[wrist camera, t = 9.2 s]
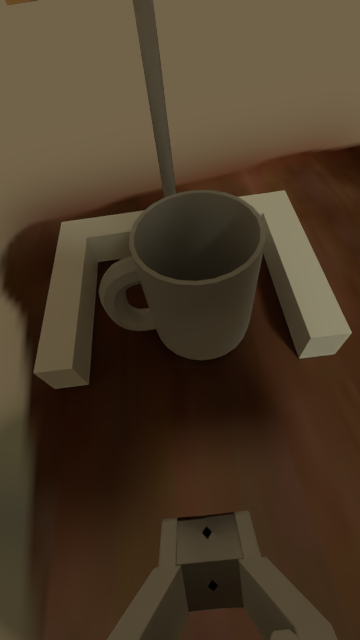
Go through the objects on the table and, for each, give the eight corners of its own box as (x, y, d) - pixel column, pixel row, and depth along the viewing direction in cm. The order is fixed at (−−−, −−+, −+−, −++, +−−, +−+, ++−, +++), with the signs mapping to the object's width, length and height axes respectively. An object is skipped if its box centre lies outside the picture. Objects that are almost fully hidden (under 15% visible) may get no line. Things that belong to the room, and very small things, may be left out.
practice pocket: (334, 354, 21) (1076, -570, 3) (54, 389, 21) (-741, -195, 4) (278, 218, 28) (386, -257, 11) (74, 246, 29) (-142, -158, 11)
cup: (262, 349, 21) (289, 264, 14) (128, 383, 21) (80, 315, 13) (231, 276, 25) (238, 178, 18) (116, 304, 25) (74, 216, 17)
